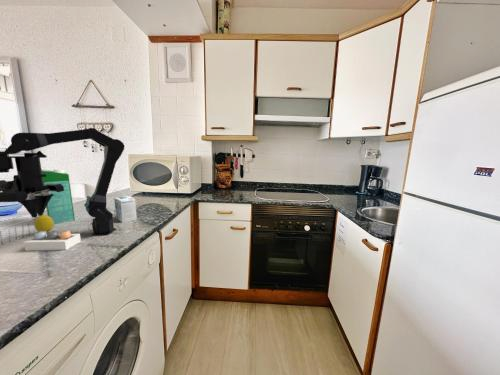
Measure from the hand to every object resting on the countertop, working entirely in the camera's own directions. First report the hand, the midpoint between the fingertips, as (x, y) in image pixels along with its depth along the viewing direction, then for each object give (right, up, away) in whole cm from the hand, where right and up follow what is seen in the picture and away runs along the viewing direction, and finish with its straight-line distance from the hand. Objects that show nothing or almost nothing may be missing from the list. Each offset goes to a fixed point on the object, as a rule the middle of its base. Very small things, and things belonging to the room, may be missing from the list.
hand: (37, 216), depth 73 cm
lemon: (-10, -9, +13) cm, 19 cm away
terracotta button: (+8, -9, +2) cm, 12 cm away
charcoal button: (+4, -9, +2) cm, 10 cm away
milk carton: (-18, -6, +29) cm, 35 cm away
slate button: (0, -9, +2) cm, 9 cm away
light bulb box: (+12, -6, +32) cm, 35 cm away
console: (+4, -11, +2) cm, 12 cm away
